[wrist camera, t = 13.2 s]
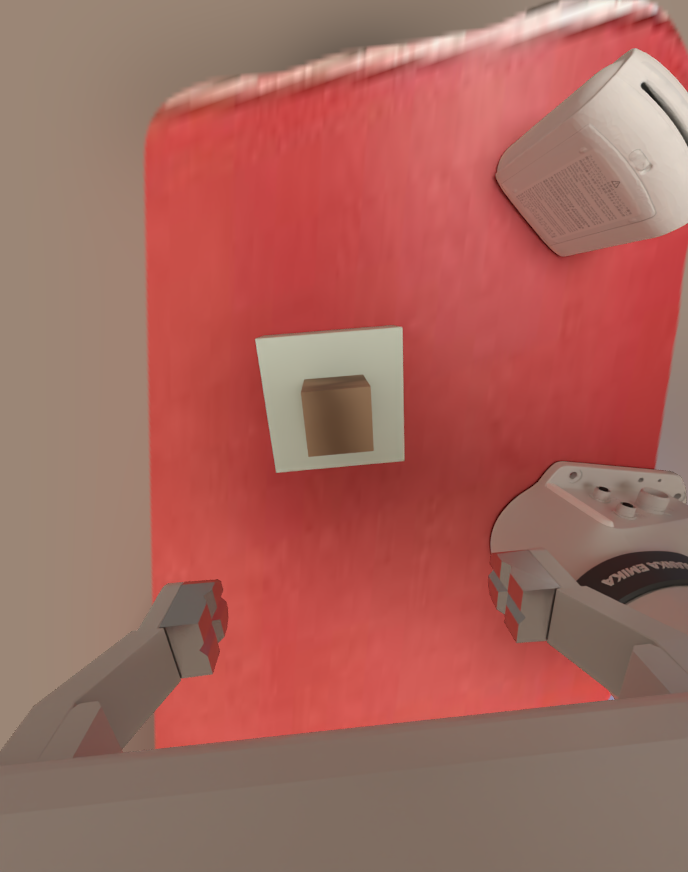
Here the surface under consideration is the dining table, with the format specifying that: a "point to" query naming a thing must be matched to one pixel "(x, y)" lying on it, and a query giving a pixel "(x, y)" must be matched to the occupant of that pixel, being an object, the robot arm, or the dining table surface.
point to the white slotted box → (605, 160)
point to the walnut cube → (337, 415)
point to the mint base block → (332, 357)
